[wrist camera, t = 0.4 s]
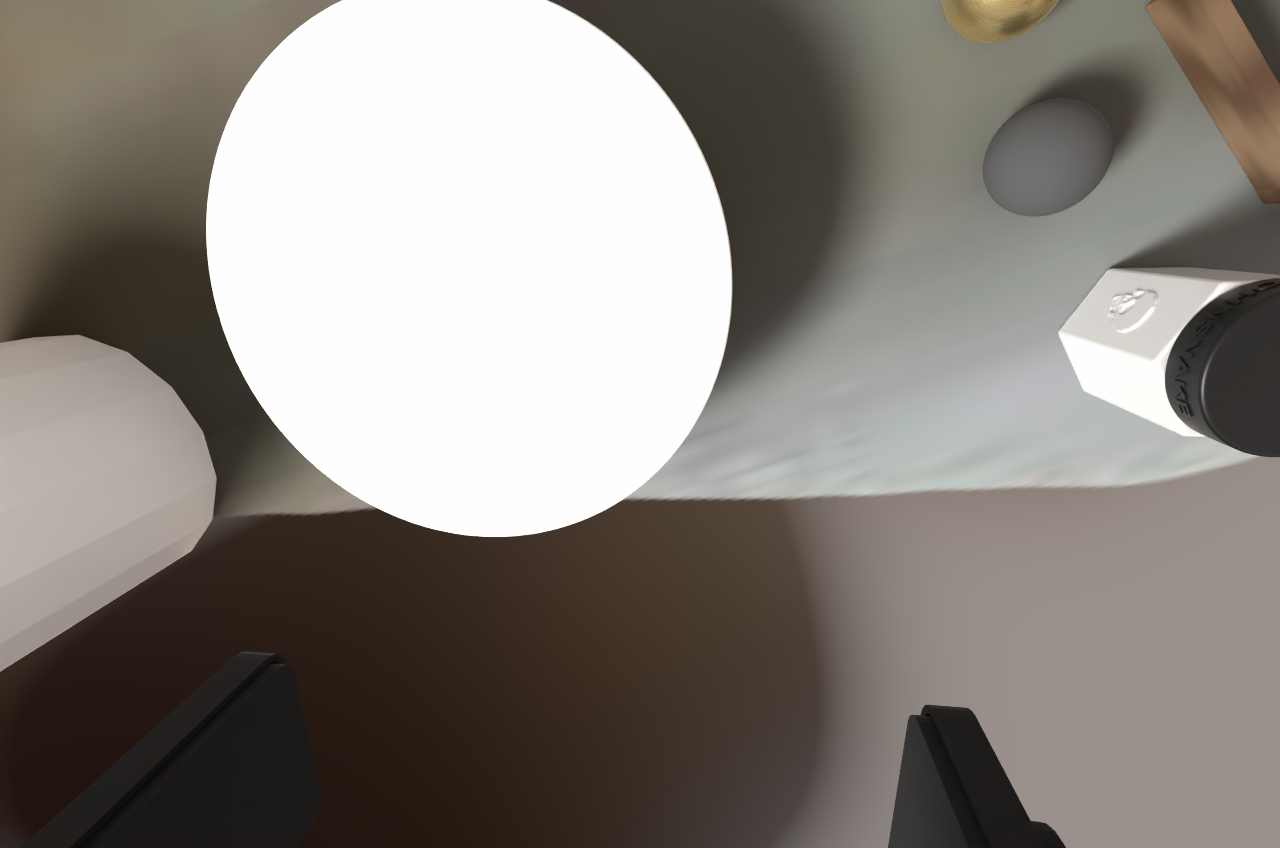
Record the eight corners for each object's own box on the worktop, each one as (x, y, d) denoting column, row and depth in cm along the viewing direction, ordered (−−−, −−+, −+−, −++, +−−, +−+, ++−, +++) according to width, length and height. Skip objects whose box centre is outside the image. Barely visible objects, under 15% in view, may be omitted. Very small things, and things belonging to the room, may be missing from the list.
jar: (1129, 233, 37) (1309, 236, 26) (1241, 300, 38) (1466, 331, 26) (1029, 359, 40) (1152, 412, 29) (1133, 420, 41) (1295, 495, 29)
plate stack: (725, 25, 37) (729, -59, 26) (730, 463, 45) (734, 539, 34) (294, 68, 40) (138, 10, 29) (373, 466, 49) (274, 535, 38)
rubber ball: (946, 159, 37) (987, 147, 32) (1039, 85, 35) (1100, 58, 30) (1001, 238, 38) (1051, 240, 32) (1094, 169, 36) (1164, 158, 31)
